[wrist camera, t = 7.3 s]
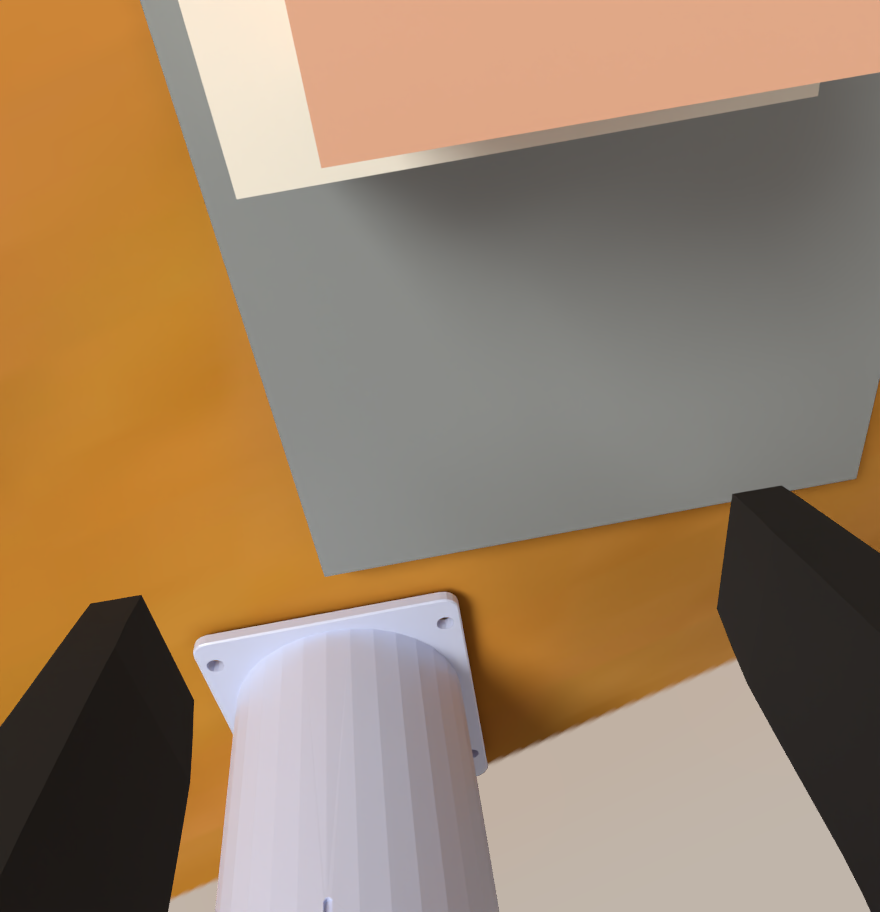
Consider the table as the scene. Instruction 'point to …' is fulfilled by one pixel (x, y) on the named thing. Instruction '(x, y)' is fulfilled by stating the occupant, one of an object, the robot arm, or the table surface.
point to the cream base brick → (287, 116)
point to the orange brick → (552, 63)
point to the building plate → (559, 320)
